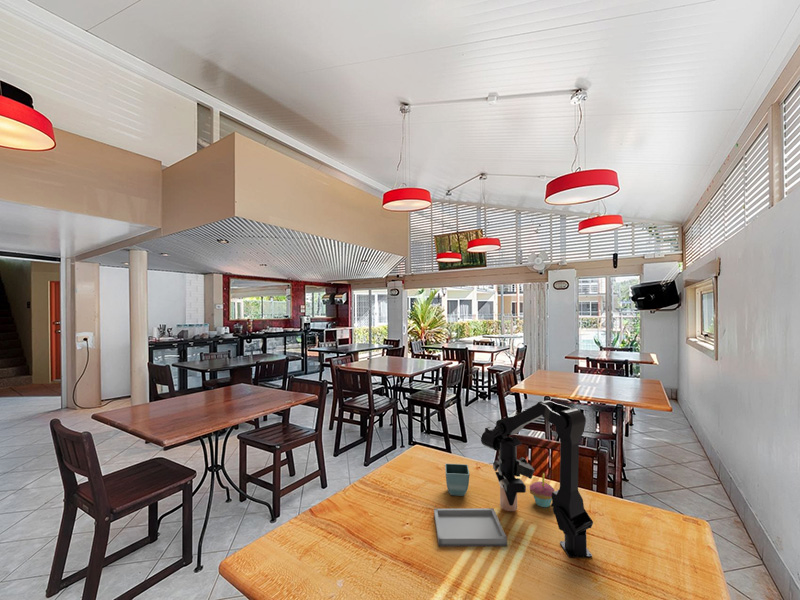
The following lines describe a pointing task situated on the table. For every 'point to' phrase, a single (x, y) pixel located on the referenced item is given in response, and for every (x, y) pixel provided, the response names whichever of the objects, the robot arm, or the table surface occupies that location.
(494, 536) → the tray
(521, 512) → the table surface
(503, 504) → the cup
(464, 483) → the flower pot
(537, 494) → the cupcake
